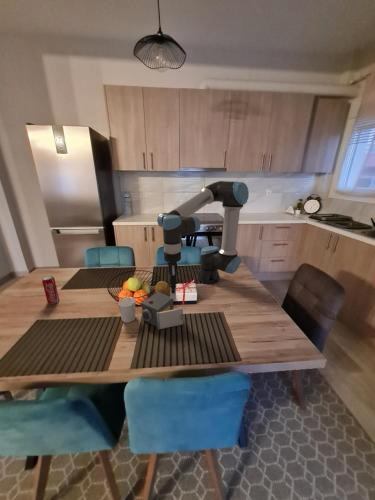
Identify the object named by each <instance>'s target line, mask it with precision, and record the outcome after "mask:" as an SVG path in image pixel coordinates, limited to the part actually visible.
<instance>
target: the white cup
mask: <svg viewBox="0 0 375 500" xmlns="http://www.w3.org/2000/svg"><path fill="white" fill-rule="evenodd" d="M118 307H119V313H120V316H121V317H120V318H121V320H122V322H124V323H127V324H128V323H131V322H133V321H134V320H136V317H137V315H136V311H137V310H136V299H135V298H134V297H131V296H127V297H123V298H121V299H119V300H118Z"/></svg>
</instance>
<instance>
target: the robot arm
mask: <svg viewBox="0 0 375 500" xmlns="http://www.w3.org/2000/svg"><path fill="white" fill-rule="evenodd" d="M248 200H249V188H248V185H247V184H246V183H245V182H243V181H237V180H236V181H228V180H226V181H225V180H220V181H215V182H213V183H211V184H209V185H207V186H205V187H203V188H202V189H201V190H200V192H199V193H198V194H196V195H194V196H193V197H190V198H189V199H188V200H187V201H185V202H183V203H182V204H180V205H179V206H177V207H176V208H174V209H172V210H170V211H169V212H161V213H160V214H159V215H158V216H157V219H156V222H157V225H158V226H159V227H160V228H162V231H163V232H162V234H163V244H162V245H161V247H163V260H164V262H167V266H168V267H167V268H168V274H169V284H168V285H169V287H170V294H169V296H170V299H172V298H173V299H177V284H178V282H177V272H178V262H180V261H181V260H182V237H183V236H189V235H191V234H194V233H197V232H198V231H200V229H201V226H202V225H201V224H202V223H201V220H200V219H199V217H197V216H193V215H194V214H195V213H196V212H198V211H199V210H200V209H202V208H204V207H205V206H207V205H210V204H212V203H216V202H219V203H222V204H221V205H222V208H223V209H224V212H223V213H224V214H223V226H222V227H223V228H222V237H221V246H220V247H221V248H219V247H218V246H214V245H208V246H204V247H202V248H201V250H200V266H199V267H200V269H199V271H198V274H197V280H198V281H199V282H200V281H201V282H200V283H202V282H203V283H202V284H205V283H206V284H205V285H213V284H217V283H219V281H220V274H219V273H220V272H219V271H221V272H224V273H227V274H231V275H232V274H235V273H236V272H237V271H238V269H239V267H240V265H241V262H242V259H241V258H242V257H241V256H239V255H238V254H239V252H238V250H237V249H236V248H237V238H238V230H239V223H240V222H239V221H240V212H241V209H243V208H244V205H245V204H247V203H248Z"/></svg>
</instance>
